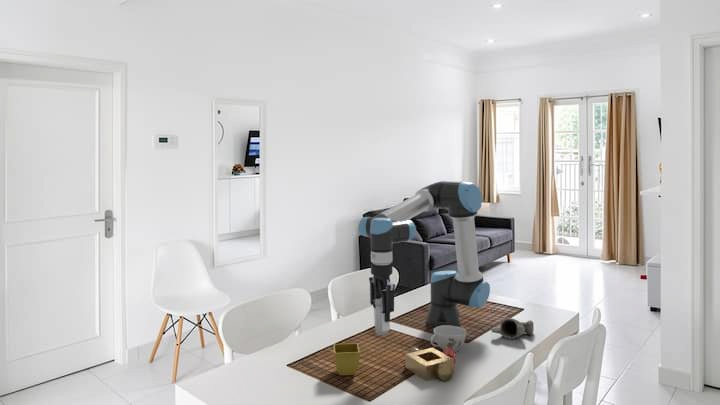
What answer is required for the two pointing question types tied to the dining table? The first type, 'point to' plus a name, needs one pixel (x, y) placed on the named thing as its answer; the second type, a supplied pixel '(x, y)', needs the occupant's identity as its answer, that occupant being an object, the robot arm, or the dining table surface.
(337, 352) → the flower pot
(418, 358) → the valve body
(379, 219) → the robot arm
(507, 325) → the grey hollow piece
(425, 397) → the dining table surface
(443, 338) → the teacup
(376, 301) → the white capped shaker
